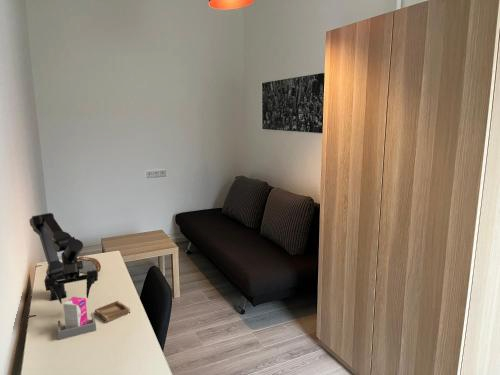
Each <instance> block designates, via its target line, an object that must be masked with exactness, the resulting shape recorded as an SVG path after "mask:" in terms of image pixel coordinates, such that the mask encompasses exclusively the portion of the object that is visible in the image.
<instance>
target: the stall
mask: <svg viewBox="0 0 500 375" xmlns="http://www.w3.org/2000/svg"><path fill="white" fill-rule="evenodd" d="M90 316H91V323H90V322H89V323H88V324H86V325H82V326H78V327H74V328H70V329H62V323H61V320H57V334H58V340H64V339H68V338H72V337H77V336H80V335H83V334H84V335H85V334H88V333H91V332H96V331H97V324H96V319H95V312H91V313H90Z"/></svg>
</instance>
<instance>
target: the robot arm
mask: <svg viewBox="0 0 500 375" xmlns="http://www.w3.org/2000/svg"><path fill="white" fill-rule="evenodd" d="M29 226H30V227H31V228H32V231H33V232H35V234H37V235H38V236H39V239H40V242H41V245H42V249H43V253H44V256H45V259H46V262H47V268H46V271H45V274H46V275H45V278H44V281H43V282H44V287H45V288H44V289H45V291H46V292H47V291H48V292H49V293H50V295H49V296H50V297H49V300H50V301H55V300H58V302H59V303H60V304H61V305H62V304H63V303H62V302H63V301H62V299H64V298H67V297H68V296H67V295H68V294H67V291H66V288H65V284H70V283H76V282H81V281H86V291H85V292H86V299H89V297H90V296H89V295H90V290H91V288H92V285H93V284H95V283H96V282H98V280H99V274H98V273H99V272H98V273H97V270H91V271H87V273H85V274H83V275H80V274H81V272H79V270H80V269H83V262H82V261H78V259H77V258H79V257H80V254H81V253H82V250H83V248H84V243H83V242H82V241H81V240H79V239H77V238H75V236H72V235H71V234H70V233H69V232H66V231H64V230H63V229H62V228H61V226H60V224H59V223H58V222H57V220H56V219H55V216H54V214H53V213H52V212H48V213H43V214H37V215H32V216H31V218H29ZM60 252H62V253H61V261H60V259H59V255H58V253H60Z"/></svg>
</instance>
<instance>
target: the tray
mask: <svg viewBox="0 0 500 375" xmlns="http://www.w3.org/2000/svg"><path fill="white" fill-rule="evenodd" d="M128 313H129V314H131V310H130V308H129V307H128V306H126V305H125V304H124V303H122V302H120V301H118V300H116V301H114V302H110V303H108V304H106V305H104V306H101V307H98V308H96V309H94V315H96V316H97V317H99V319H101V320H102V321H104V322H105V323H106V324H107V323H111V322H112V321H114V320H117V319H119V318H121V317H124V316H126V315H128Z"/></svg>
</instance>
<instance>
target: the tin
mask: <svg viewBox="0 0 500 375" xmlns="http://www.w3.org/2000/svg"><path fill="white" fill-rule="evenodd" d="M77 259H78V261H82V262H83V269H80V270H79V272H80V274H81V273H82V274H87V271H91V270H97V273H99V272H100V271H101V269H102V268H101V267H102V266H101V263H100V262H99V260H98V259H97V258H94V257H88V256H84V255H82V256H78V257H77Z"/></svg>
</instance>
